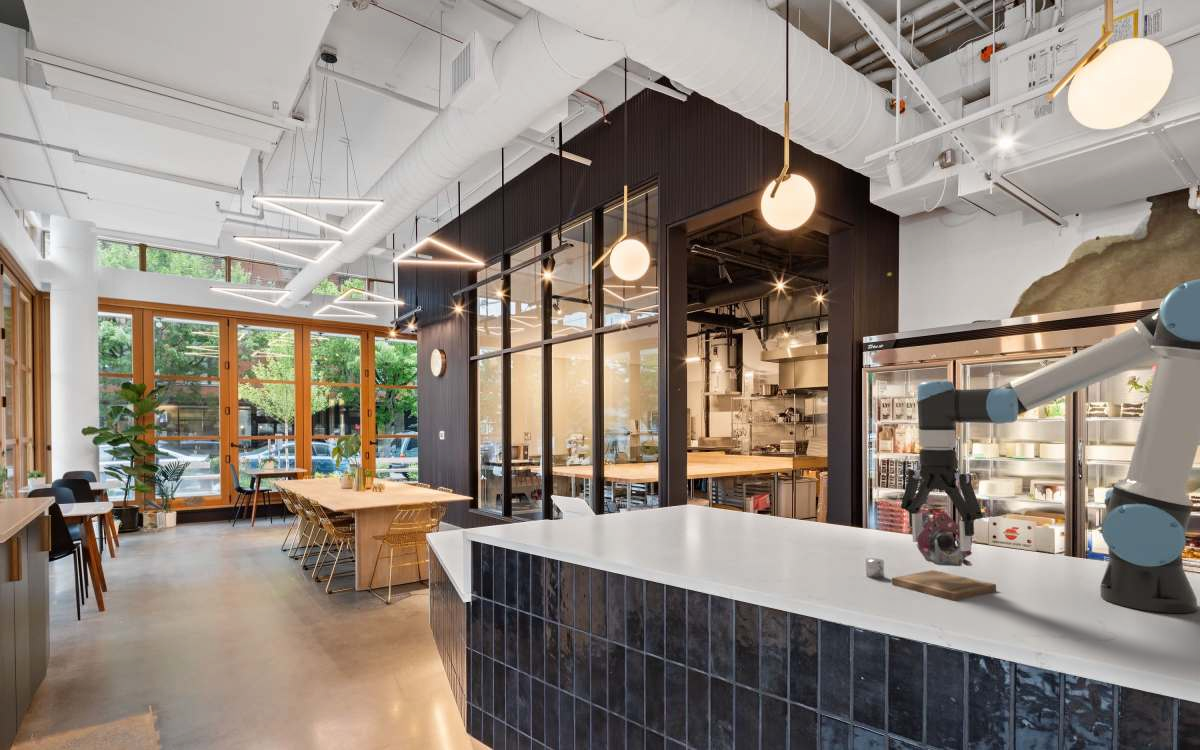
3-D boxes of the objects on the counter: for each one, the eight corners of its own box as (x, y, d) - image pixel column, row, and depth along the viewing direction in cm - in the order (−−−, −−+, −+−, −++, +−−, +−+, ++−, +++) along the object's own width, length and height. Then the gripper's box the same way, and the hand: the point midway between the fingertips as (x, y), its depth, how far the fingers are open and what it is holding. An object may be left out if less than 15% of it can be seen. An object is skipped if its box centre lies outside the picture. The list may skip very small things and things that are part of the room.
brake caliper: (925, 556, 138) (915, 507, 146) (916, 577, 146) (907, 530, 154) (983, 558, 136) (969, 509, 143) (970, 580, 144) (958, 532, 151)
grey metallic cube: (887, 577, 152) (887, 560, 153) (876, 579, 150) (876, 562, 151) (873, 574, 156) (873, 557, 156) (862, 576, 154) (862, 559, 154)
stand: (996, 590, 140) (995, 584, 140) (954, 600, 133) (954, 593, 133) (932, 575, 153) (932, 569, 153) (892, 584, 146) (891, 577, 146)
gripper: (998, 450, 137) (1003, 553, 135) (902, 446, 157) (905, 535, 156) (978, 451, 133) (982, 557, 132) (882, 446, 154) (885, 538, 152)
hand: (941, 545), depth 144 cm, fingers closed on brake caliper, 11 cm apart
